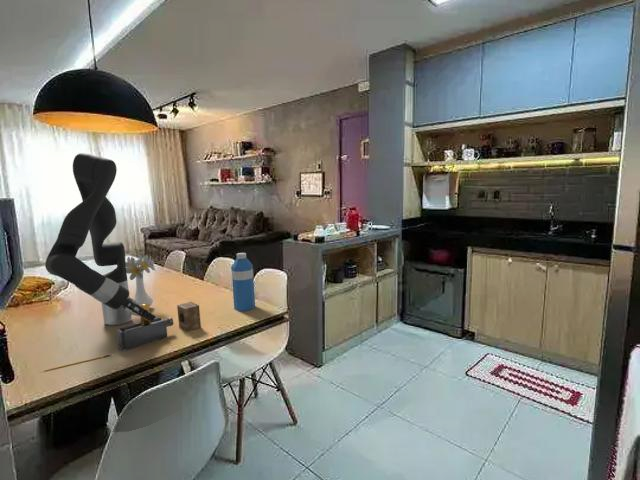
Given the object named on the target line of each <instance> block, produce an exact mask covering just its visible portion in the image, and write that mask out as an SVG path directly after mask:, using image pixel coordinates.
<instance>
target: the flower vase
mask: <svg viewBox="0 0 640 480" xmlns="http://www.w3.org/2000/svg"><path fill="white" fill-rule="evenodd" d="M137 255H138V259H137V260H136V259H135V257H133V256H128V257H127V259H126V261H125V262H126V273H127V275H129V274H130V275H129V280H131V281H133V280H134V279H135V285H136V286H135V287H136V288H135V294H134V296H133V297H132V298H131V299H133V300H135V301H136V303H138V304H143V303H148V304H149V309H150V308H151V306H152V305H153V303H154V300H153V298H152V297H151V295H149V294H148V293H147V291H146V288H145V283H144V271H145V272H146V273H147V274H150V272H151V270H150V269H152V271H153V272H154V271H156V268H155V267H154V266H155V265H154V264H155V262H154V259H153V260H152V256H151V255H150V256H149V255H148V254H145V255H144V256H142V255H141V254H140V253H138V254H137ZM130 257H131V258H130Z"/></svg>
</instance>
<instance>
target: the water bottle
mask: <svg viewBox="0 0 640 480" xmlns="http://www.w3.org/2000/svg"><path fill="white" fill-rule="evenodd" d="M253 266H254V265H253V263H252V262H251V261H250V260H249V258H247V253H246V252H238V253H236V259H235V260H234V262H233V263H232V265H231V266H230V268H231V282H232V296H233V309H234V310H235V311H237V312H247V311H251V310H254V309H255V307H256V299H255V298H256V297H255V295H256V294H255V282H254V281H255V280H254V267H253Z"/></svg>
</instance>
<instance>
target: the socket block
mask: <svg viewBox="0 0 640 480" xmlns="http://www.w3.org/2000/svg"><path fill="white" fill-rule="evenodd" d="M176 308H177V317H178V318H177V319H178V327H179V329H181V330H183V331H185V332H190V331H193V330H197V329H200V328H202V325H201V323H202V322H201V310H200V305H199V304H197V303H195V302H193V301H188V302H185V303H180V304H177V305H176Z"/></svg>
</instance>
